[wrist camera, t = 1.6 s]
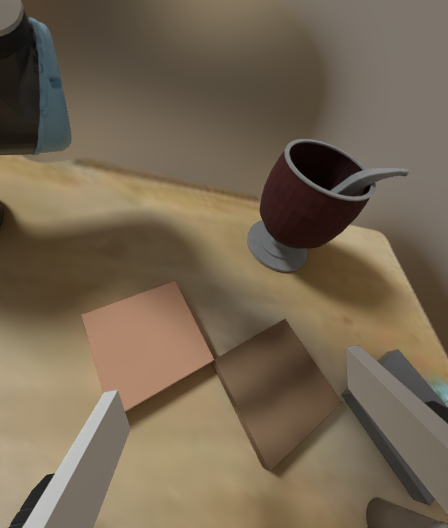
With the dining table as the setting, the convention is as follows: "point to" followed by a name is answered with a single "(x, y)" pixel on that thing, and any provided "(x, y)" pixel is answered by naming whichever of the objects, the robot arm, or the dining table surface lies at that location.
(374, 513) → the pepper shaker
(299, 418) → the walnut coaster
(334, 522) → the dining table surface
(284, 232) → the mate gourd
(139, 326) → the terracotta coaster
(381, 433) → the slate coaster
